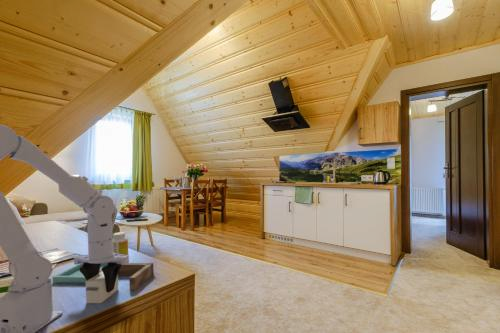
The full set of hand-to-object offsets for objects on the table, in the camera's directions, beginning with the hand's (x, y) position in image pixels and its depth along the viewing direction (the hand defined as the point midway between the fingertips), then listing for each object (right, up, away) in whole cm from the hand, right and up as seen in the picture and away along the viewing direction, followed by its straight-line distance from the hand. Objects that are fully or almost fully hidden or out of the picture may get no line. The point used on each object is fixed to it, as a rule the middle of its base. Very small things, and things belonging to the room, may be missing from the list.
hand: (102, 290), depth 67 cm
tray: (-13, -2, +15) cm, 20 cm away
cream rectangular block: (0, -2, 0) cm, 2 cm away
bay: (+1, -2, +8) cm, 8 cm away
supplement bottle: (-9, -2, +26) cm, 28 cm away
